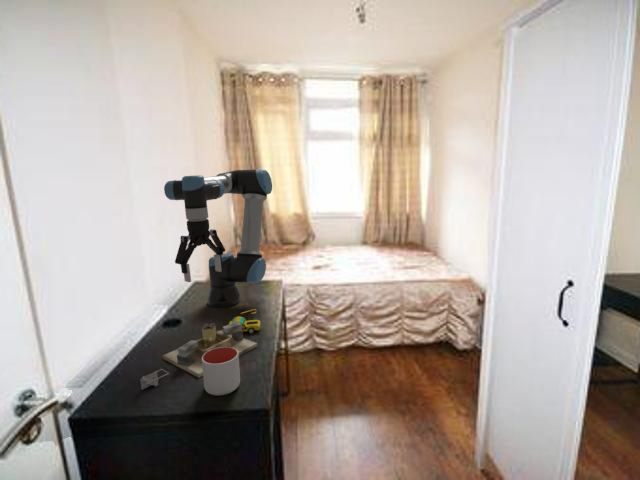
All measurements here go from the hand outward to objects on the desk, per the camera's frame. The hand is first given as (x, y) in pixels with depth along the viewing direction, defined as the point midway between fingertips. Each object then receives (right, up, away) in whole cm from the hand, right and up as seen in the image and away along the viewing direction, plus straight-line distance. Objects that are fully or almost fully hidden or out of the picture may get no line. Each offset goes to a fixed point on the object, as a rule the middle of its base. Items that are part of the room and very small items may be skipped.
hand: (203, 276), depth 132 cm
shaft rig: (+6, -25, -9) cm, 27 cm away
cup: (+15, -29, -29) cm, 44 cm away
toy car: (+14, -23, +8) cm, 28 cm away
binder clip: (-5, -30, -28) cm, 41 cm away
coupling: (+5, -24, -9) cm, 26 cm away
